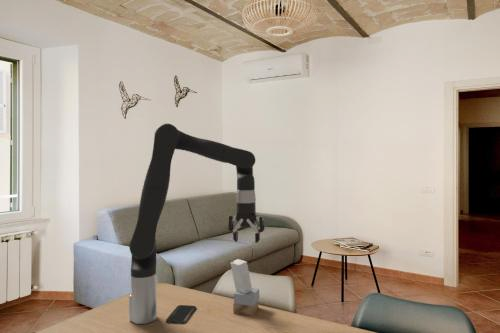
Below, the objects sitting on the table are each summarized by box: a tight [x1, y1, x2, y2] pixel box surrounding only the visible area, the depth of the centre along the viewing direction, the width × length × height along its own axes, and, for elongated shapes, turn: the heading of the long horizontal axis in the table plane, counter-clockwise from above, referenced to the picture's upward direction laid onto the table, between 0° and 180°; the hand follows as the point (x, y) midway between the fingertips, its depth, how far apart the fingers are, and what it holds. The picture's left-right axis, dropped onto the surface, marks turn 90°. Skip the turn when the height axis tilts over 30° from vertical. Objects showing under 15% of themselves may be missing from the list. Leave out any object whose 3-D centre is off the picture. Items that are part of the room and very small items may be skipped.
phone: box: [165, 304, 197, 325], centre depth 142 cm, size 8×1×15 cm
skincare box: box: [230, 258, 253, 294], centre depth 145 cm, size 6×4×12 cm
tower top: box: [233, 287, 260, 306], centre depth 146 cm, size 8×8×4 cm
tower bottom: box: [232, 300, 259, 316], centre depth 146 cm, size 8×8×4 cm
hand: (246, 241), depth 145 cm, fingers open, 8 cm apart
